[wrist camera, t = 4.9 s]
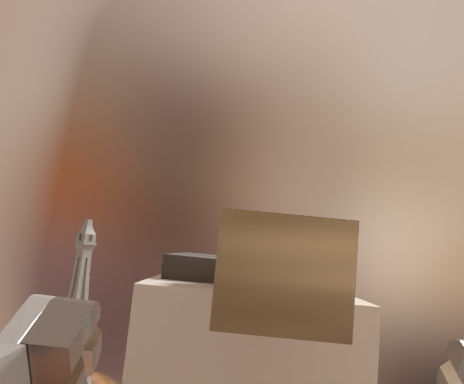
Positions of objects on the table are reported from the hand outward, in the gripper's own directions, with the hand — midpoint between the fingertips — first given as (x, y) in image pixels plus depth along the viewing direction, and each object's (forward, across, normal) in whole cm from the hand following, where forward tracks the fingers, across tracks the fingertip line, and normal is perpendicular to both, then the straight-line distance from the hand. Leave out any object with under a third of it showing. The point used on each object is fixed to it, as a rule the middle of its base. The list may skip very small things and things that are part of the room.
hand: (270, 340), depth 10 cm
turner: (+10, 0, +5) cm, 11 cm away
